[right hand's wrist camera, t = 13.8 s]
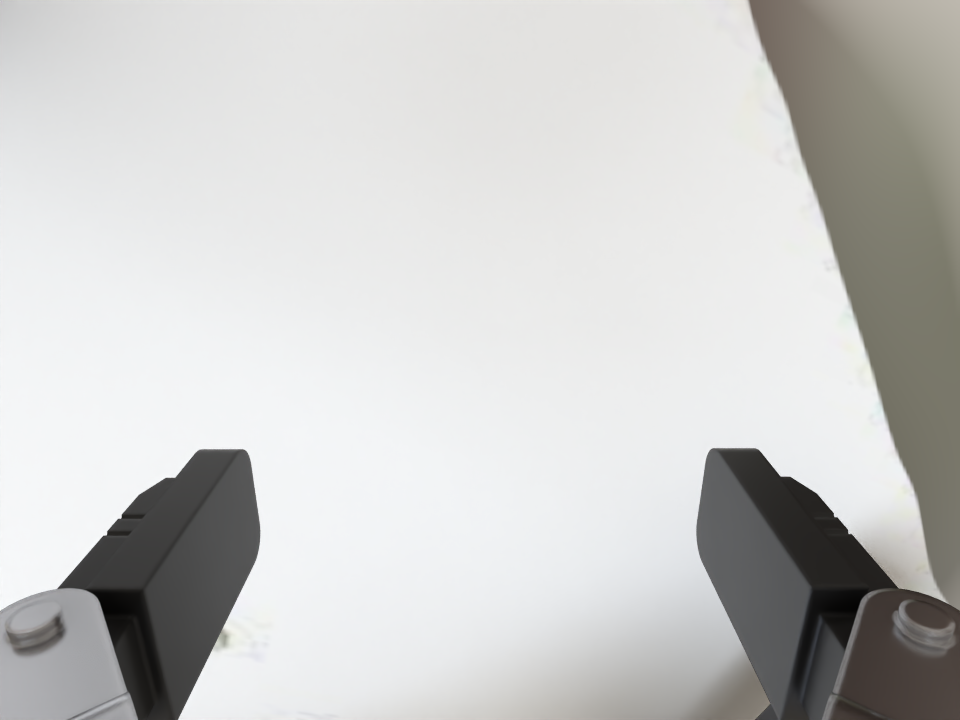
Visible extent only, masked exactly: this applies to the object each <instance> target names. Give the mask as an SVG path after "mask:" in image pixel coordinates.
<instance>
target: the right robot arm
mask: <svg viewBox="0 0 960 720" xmlns="http://www.w3.org/2000/svg"><path fill="white" fill-rule="evenodd" d="M259 544H260V522H259V516H258V509H257V502H256V495H255V488H254V481H253V474H252V468H251V462H250V458H249V455H248V453H247V452H246V451H245V450H243V449H202V450H199V451H197V452H196V453H195V454H194V456H193V457H192V458H191V459H190V460H189V462H188V463H187V464H186V465H185V467H184V468H183V469H182V470H181V472H180V473H179V474H178V475H177V476H176V478H165V479H164V480H162V481H160V482H159V483H157V484H156V485H154V486H152V487H151V488H149V489H148V490H146V491H145V492H143V493H141V494H140V495H139V496H138V497H137V498H136V499H135V500H134V501H133V502H132V504H131V505H130V506H129V507H128V508H127V509H126V510H125V512H124V513H123V514H122V518H121V519H118V520H117V521H116V522H115V523H114V524H113V525H112V527H111V528H110V529H109V530H108V531H107V536H103V537H102V538H101V539H100V540H99V542H98V543H97V544H96V545H95V546H94V547H93V548H92V550H91V551H90V552H89V553H88V554H87V555H86V556H85V558H84V559H83V560H82V561H81V562H80V563H79V564H78V566H77V567H76V568H75V569H74V570H73V571H72V573H71V574H70V575H69V576H68V577H67V578H66V579H65V581H64V582H63V583H62V584H61V585H60V586H59V587H58V589H55V590H50V591H45V592H41V593H38V594H35V595H32V596H29V597H26V598H24V599H21V600H19V601H17V602H15V603H13V604H11V605H9V606H8V607H6V608H4V609H2V610H1V611H0V720H178V718H179V716H180V714H181V712H182V710H183V708H184V706H185V704H186V702H187V700H188V698H189V696H190V694H191V692H192V690H193V688H194V686H195V684H196V682H197V680H198V677H199V675H200V673H201V671H202V669H203V667H204V665H205V663H206V661H207V659H208V657H209V655H210V653H211V651H212V649H213V647H214V645H215V643H216V641H217V639H218V637H219V635H220V633H221V631H222V629H223V626H224V624H225V622H226V620H227V618H228V616H229V614H230V612H231V610H232V608H233V606H234V604H235V602H236V600H237V598H238V596H239V594H240V592H241V590H242V588H243V586H244V584H245V582H246V580H247V578H248V575H249V573H250V571H251V569H252V567H253V565H254V563H255V561H256V558H257V554H258V550H259ZM697 545H698V550H699V554H700V558H701V560H702V563H703V565H704V567H705V569H706V571H707V573H708V575H709V577H710V579H711V581H712V583H713V585H714V587H715V590H716V592H717V594H718V596H719V598H720V600H721V602H722V604H723V606H724V608H725V610H726V612H727V614H728V616H729V618H730V621H731V623H732V625H733V627H734V629H735V631H736V633H737V635H738V637H739V639H740V641H741V643H742V645H743V647H744V649H745V651H746V654H747V656H748V658H749V660H750V662H751V664H752V666H753V668H754V670H755V672H756V674H757V676H758V678H759V680H760V682H761V685H762V687H763V689H764V691H765V693H766V695H767V697H768V699H769V701H770V703H771V705H772V707H773V709H774V711H775V713H776V715H777V718H778V720H960V611H959V610H957V609H956V608H954V607H952V606H951V605H949V604H947V603H945V602H943V601H941V600H939V599H936V598H934V597H931V596H928V595H925V594H922V593H919V592H915V591H910V590H905V589H899V588H898V587H897V586H896V585H895V584H894V583H893V581H892V580H891V579H890V578H889V577H888V576H887V574H886V573H885V572H884V571H883V570H882V569H881V568H880V566H879V565H878V564H877V563H876V562H875V561H874V559H873V558H872V557H871V556H870V555H869V554H868V552H867V551H866V550H865V549H864V548H863V547H862V545H861V544H860V543H859V542H858V541H857V540H856V539H855V537H854V536H853V535H852V534H848V529H847V528H846V527H845V526H844V525H843V523H842V522H841V521H840V520H839V519H838V518H837V517H834V513H833V512H832V511H831V510H830V508H829V507H828V506H827V505H826V504H825V503H824V501H823V500H822V499H821V498H820V497H819V496H818V494H817V493H815V492H813V491H812V490H810V489H809V488H807V487H805V486H804V485H802V484H801V483H799V482H798V481H796V480H794V479H793V478H791V477H780V475H779V474H778V473H777V472H776V470H775V469H774V468H773V467H772V465H771V464H770V463H769V462H768V460H767V459H766V458H765V457H764V456H763V454H762V453H761V452H760V451H759V450H758V449H755V448H713V449H711V450H710V451H709V453H708V455H707V458H706V463H705V470H704V477H703V484H702V491H701V498H700V505H699V512H698V519H697Z"/></svg>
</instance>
